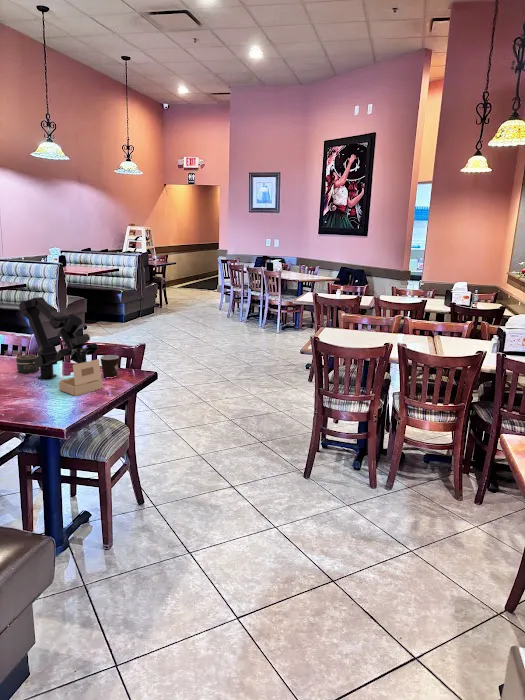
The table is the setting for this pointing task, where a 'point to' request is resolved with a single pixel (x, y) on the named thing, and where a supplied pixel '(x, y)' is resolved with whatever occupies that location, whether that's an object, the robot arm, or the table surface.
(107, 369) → the coffee mug
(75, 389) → the kraft box
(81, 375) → the flap
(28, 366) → the jar
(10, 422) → the table surface
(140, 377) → the table surface
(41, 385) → the table surface
